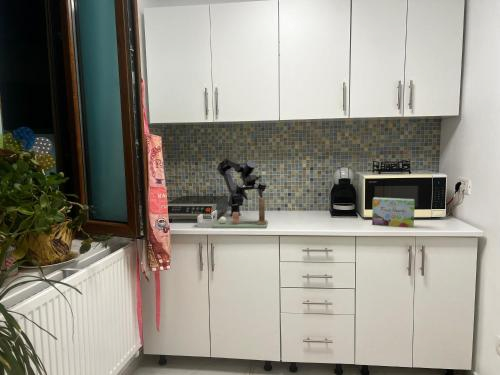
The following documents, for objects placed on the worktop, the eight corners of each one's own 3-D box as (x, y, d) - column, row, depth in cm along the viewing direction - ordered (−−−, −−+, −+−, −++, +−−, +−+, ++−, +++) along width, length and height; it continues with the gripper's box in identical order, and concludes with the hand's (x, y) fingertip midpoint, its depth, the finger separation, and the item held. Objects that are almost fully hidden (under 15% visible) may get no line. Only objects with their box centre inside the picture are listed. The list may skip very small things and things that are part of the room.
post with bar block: (233, 222, 210) (232, 197, 209) (266, 222, 208) (266, 197, 207) (231, 224, 206) (231, 198, 204) (266, 224, 203) (265, 198, 202)
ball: (220, 222, 211) (220, 216, 210) (227, 222, 210) (226, 216, 210) (218, 224, 207) (218, 217, 206) (225, 224, 206) (225, 217, 206)
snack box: (371, 225, 201) (372, 198, 200) (372, 223, 207) (373, 196, 205) (413, 228, 193) (414, 199, 191) (413, 225, 198) (414, 198, 196)
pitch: (203, 222, 217) (202, 209, 216) (268, 222, 213) (267, 209, 212) (197, 227, 203) (196, 213, 203) (266, 228, 199) (266, 213, 198)
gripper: (235, 170, 211) (242, 190, 202) (264, 169, 218) (273, 188, 209) (231, 183, 219) (238, 203, 210) (259, 181, 226) (267, 200, 217)
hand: (254, 198), depth 211 cm, fingers open, 9 cm apart
